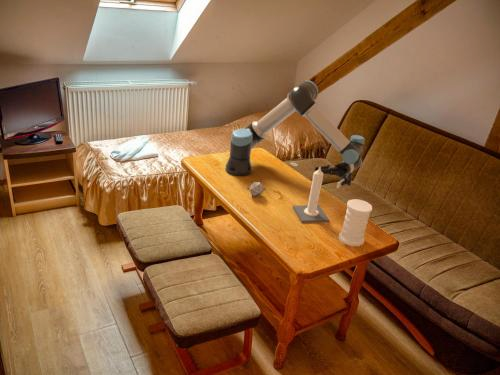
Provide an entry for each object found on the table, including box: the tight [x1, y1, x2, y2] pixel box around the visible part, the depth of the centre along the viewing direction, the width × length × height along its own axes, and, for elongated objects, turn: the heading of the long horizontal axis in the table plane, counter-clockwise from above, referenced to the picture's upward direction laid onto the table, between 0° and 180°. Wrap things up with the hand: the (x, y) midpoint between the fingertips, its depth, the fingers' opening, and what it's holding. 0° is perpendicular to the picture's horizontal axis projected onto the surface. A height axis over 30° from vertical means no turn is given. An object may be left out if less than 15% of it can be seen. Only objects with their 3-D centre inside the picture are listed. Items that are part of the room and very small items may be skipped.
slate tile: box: [292, 204, 330, 224], centre depth 216 cm, size 14×14×1 cm
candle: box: [304, 166, 325, 216], centre depth 209 cm, size 7×7×25 cm
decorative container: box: [338, 198, 373, 247], centre depth 196 cm, size 12×12×18 cm
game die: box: [247, 180, 266, 198], centre depth 225 cm, size 9×8×10 cm
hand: (325, 180), depth 215 cm, fingers open, 13 cm apart
